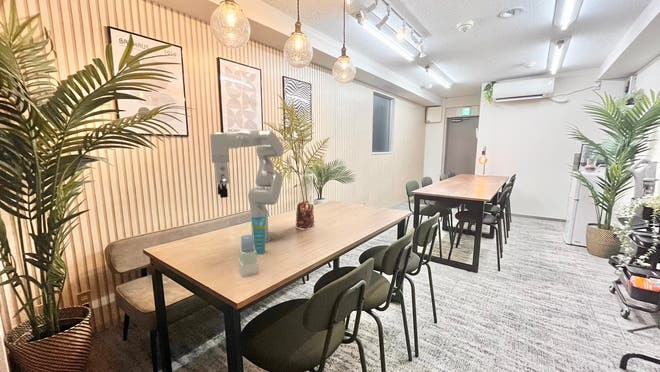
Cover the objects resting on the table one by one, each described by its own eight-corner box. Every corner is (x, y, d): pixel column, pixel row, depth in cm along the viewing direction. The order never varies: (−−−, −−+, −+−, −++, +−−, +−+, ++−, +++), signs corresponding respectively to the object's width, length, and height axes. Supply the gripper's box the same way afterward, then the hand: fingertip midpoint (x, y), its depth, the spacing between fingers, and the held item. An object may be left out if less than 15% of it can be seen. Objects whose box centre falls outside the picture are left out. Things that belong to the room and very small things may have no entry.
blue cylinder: (251, 247, 123) (251, 234, 122) (255, 250, 119) (254, 237, 118) (240, 249, 120) (239, 236, 119) (243, 253, 116) (242, 239, 115)
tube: (252, 254, 140) (250, 218, 137) (253, 251, 145) (251, 216, 142) (267, 253, 142) (265, 217, 139) (267, 249, 146) (265, 215, 144)
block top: (253, 257, 124) (252, 247, 123) (256, 262, 119) (256, 251, 118) (239, 260, 121) (239, 249, 120) (243, 265, 116) (242, 253, 115)
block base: (254, 267, 125) (254, 256, 125) (258, 273, 119) (258, 262, 119) (239, 270, 122) (238, 259, 121) (242, 276, 116) (241, 265, 115)
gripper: (231, 159, 120) (234, 197, 122) (226, 158, 135) (228, 192, 137) (213, 160, 116) (216, 199, 119) (210, 159, 131) (212, 193, 134)
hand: (222, 195), depth 128 cm, fingers open, 9 cm apart
